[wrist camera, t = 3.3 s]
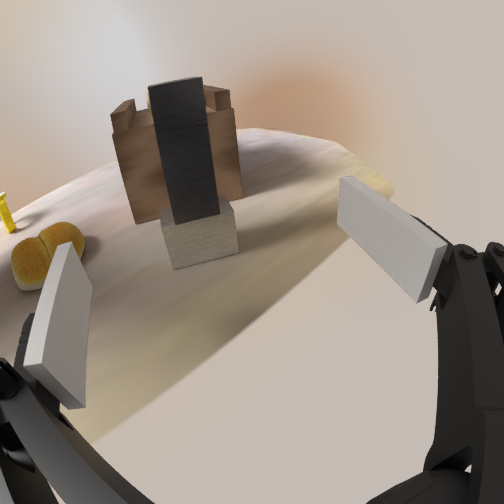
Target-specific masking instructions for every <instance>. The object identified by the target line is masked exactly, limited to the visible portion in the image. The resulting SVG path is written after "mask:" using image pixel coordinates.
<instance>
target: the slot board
mask: <svg viewBox="0 0 504 504" xmlns="http://www.w3.org/2000/svg"><path fill="white" fill-rule="evenodd" d="M203 89H204V97H205V105H206V113H207V121H208V129H209V136H210V144H211V151H212V158H213V166H214V173H215V180H216V187H217V194H218V196H220V195H225V197H226V199H227V200H228V201H232V200H237V199H241V198H243V194H242V184H241V174H240V165H239V155H238V145H237V135H236V126H235V116H234V109H233V108H231V101H230V91H229V90H228V89H222V88H217V87H212V86H206V85H203ZM110 116H111V121H112V125H113V130H114V132H113V134H112V138H113V141H114V146H115V150H116V155H117V159H118V163H119V167H120V171H121V174H122V178H123V182H124V186H125V189H126V193H127V196H128V200H129V203H130V207H131V210H132V213H133V217H134V220H135V223H136V224H139V223H143V222H146V221H150V220H154V219H158V218H160V212H159V210H162V209H165V208H169V207H171V205H170V200H169V196H168V191H167V187H166V182H165V178H164V173H163V168H162V163H161V158H160V153H159V148H158V143H157V138H156V133H155V127H154V122H153V117H152V115H151V111H149V110H148V109H144V110H140V111H136V107H135V101H134V99H131V100H127V101H124V102H123V103H122V104H121V105H120V106H119V107H118V108H117V109H116V110H115V111H114V112H112V113H111V115H110Z"/></svg>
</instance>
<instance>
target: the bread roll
mask: <svg viewBox="0 0 504 504" xmlns="http://www.w3.org/2000/svg"><path fill="white" fill-rule="evenodd" d="M71 241H72V243H73V245H74V248H75V250H76V252H77V254H78V257H79V259H80V260H81V257H82V254H83V251H84V248H85V239H84V236H83V234H82V233H81V232H80V230H79V229H78V228H77V227H76V226H74V225H72V224H71V223H67V222H59V223H56V224H54V225H52V226H50V227H48V228H46V229H44V230H42V231H41V232H40V233H39V235H38V236H37V237H35V238H27V239H25V240H23V241H21V242H20V243H18V244H17V245H16V246H15V248H14V249H13V252H12V256H11V264H10V265H11V269H12V273H13V276H14V279H15V281H16V283H17V285H18V287H19V288H20V289H21V290H24V291H32V290H37V289H41V288H43V286H44V283H45V280H46V277H47V274H48V271H49V268H50V265H51V262H52V260H53V257H54V254H55V252H56V249H57V246H58V245H61V244H64V243H67V242H71Z"/></svg>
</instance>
